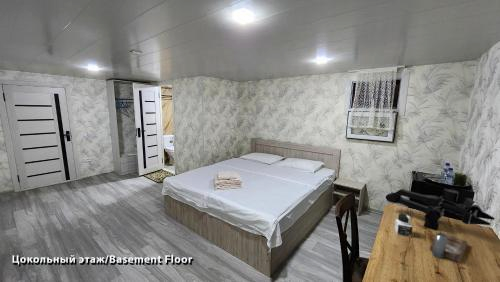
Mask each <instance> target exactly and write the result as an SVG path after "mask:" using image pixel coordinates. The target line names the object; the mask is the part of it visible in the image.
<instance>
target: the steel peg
mask: <svg viewBox="0 0 500 282" xmlns="http://www.w3.org/2000/svg"><path fill="white" fill-rule="evenodd" d="M441 233H442V232H441ZM441 233H440V232H437V233H435V236H434V240H435V243H434V249H433V251H432V255H433V257H435V258H437V259H439V260H440V259H441V260H443V259H444V258H445V256H444V253H445V250H446V249H445V247H446V241H447V236H446V235H444V234H445V233H444V234H441Z"/></svg>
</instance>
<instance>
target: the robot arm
mask: <svg viewBox="0 0 500 282" xmlns="http://www.w3.org/2000/svg"><path fill="white" fill-rule="evenodd" d="M459 194H460V192H459V191H457V190H455V189H447V188H444V189H443V190H442V195H440V196H437V195H431V194H422V193H419V192H418V193H417V192H413V191H410V190H407V189H403V188H401V189H398V190H397V191H395V192H390V193H388V194H386V196H385V200H386V201H387V202H389V203H392V204H400V205H403V206H405V207H408V208H411V209H414V210H416V211H419V212H422V213H424V214H425V215H424V223H423V227H424V228H427V229H430V230H433V231H437V230H439V227H440V221H439V220H440V219H441V218H443V216H444V215H445V212H444V211H448V212H450V213H453V214H454V216H461V222H462V223H463V224H465V225H479V226H480V225H484V226H490V225H491V222H488V221H487V220H492V221H493V220H494V221H495V217H493V216H492V215H490V214H488V213H486V212H484V210H482V209H481V207H480V205H477V204H475V203H476V201H475V200H473V198H470V197H468V198H467V197H465V199H463V203H455V202H457V200H458V197H459ZM405 197H407V198H410V199H412V200H410V199H407V198H405ZM413 200H417V201H418V202H415V201H413ZM419 201H420V202H422V203H424V204H426V205H424V204H421V203H419ZM485 219H486V220H485Z"/></svg>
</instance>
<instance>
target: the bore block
mask: <svg viewBox="0 0 500 282" xmlns="http://www.w3.org/2000/svg"><path fill="white" fill-rule="evenodd" d="M439 233H441V234H444V235H446V236H447V241H446V247H445V253H444V258H447V259H450V260H451V261H454V262H457V263H459V264H460V263H461V261H462V260H463V259H462V258H463V257H464V254H465V251H466V249H467V248H468V242H469V241H466V240H463V239H461V238H458V237H455V236H452V235H449V234H446V233H444V232H441V231H440V232H439ZM434 243H435V239H434V240H433V242H432V243H431V244H430V247H429V251H431V252H433V249H434Z"/></svg>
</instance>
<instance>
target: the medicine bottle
mask: <svg viewBox="0 0 500 282" xmlns="http://www.w3.org/2000/svg"><path fill="white" fill-rule="evenodd" d="M397 217H398V218H395V222H394V230H395V233H396V234H397V235H398V236H403V237H407V238H411V237H412V231H413V226H412V224H411V220H412V219H411V216H409V214H406V213H399V214H398V216H397Z"/></svg>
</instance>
